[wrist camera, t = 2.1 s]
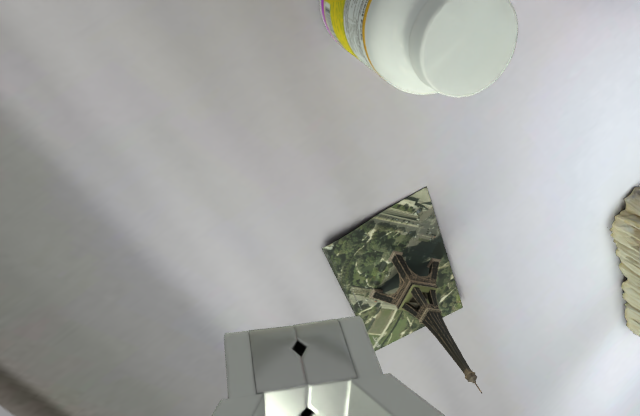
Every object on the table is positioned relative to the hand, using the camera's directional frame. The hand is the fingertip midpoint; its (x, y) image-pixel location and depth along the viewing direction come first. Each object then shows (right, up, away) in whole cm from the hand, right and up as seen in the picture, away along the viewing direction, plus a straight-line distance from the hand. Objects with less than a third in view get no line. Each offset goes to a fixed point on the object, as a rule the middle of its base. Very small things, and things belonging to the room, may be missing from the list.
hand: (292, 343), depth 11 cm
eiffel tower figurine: (+7, -3, +35) cm, 36 cm away
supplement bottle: (+3, +17, +21) cm, 27 cm away
